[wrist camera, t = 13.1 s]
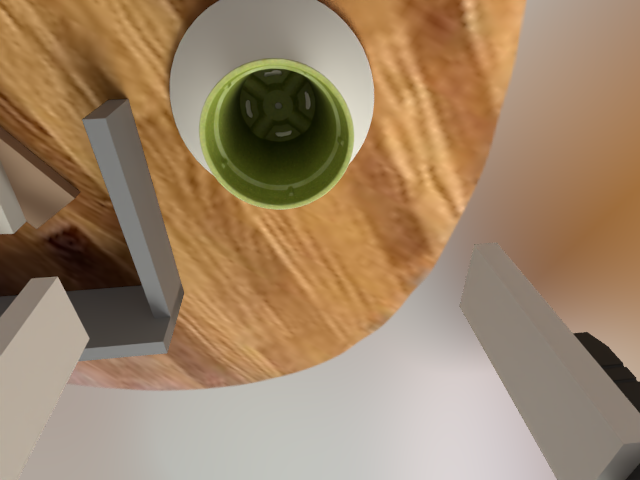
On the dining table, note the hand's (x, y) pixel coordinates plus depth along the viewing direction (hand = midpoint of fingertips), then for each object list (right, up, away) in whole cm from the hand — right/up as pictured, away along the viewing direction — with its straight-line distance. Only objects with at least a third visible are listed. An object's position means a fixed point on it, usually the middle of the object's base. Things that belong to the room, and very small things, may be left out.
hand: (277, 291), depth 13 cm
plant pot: (-2, +13, +18) cm, 22 cm away
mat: (-2, +13, +19) cm, 23 cm away
